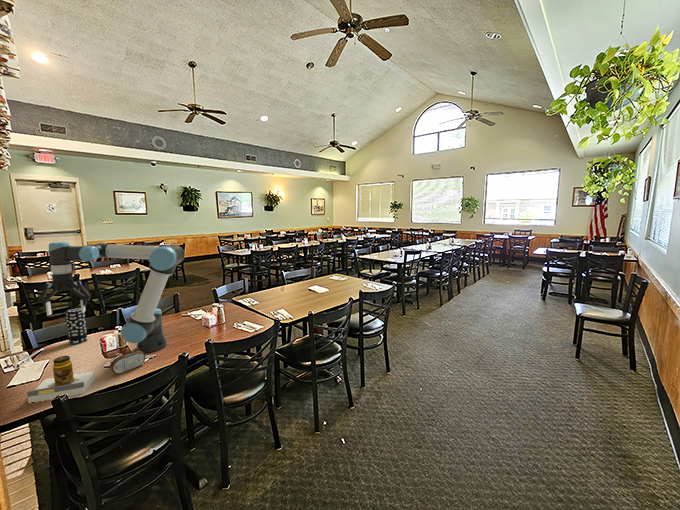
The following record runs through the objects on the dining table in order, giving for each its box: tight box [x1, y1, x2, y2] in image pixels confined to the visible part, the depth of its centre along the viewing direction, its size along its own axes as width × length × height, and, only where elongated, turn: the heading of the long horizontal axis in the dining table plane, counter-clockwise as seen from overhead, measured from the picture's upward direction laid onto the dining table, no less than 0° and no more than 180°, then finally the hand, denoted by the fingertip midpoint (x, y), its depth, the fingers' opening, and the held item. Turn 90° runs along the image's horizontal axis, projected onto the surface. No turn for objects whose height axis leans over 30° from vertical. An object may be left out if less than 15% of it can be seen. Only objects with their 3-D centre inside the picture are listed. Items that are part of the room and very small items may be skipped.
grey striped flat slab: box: [26, 370, 96, 404], centre depth 129 cm, size 18×14×5 cm
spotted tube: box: [65, 307, 88, 346], centre depth 175 cm, size 8×8×20 cm
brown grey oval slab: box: [109, 350, 146, 375], centre depth 146 cm, size 15×3×8 cm, turn 148°
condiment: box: [48, 355, 79, 387], centre depth 128 cm, size 7×8×12 cm
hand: (66, 313), depth 149 cm, fingers open, 13 cm apart
